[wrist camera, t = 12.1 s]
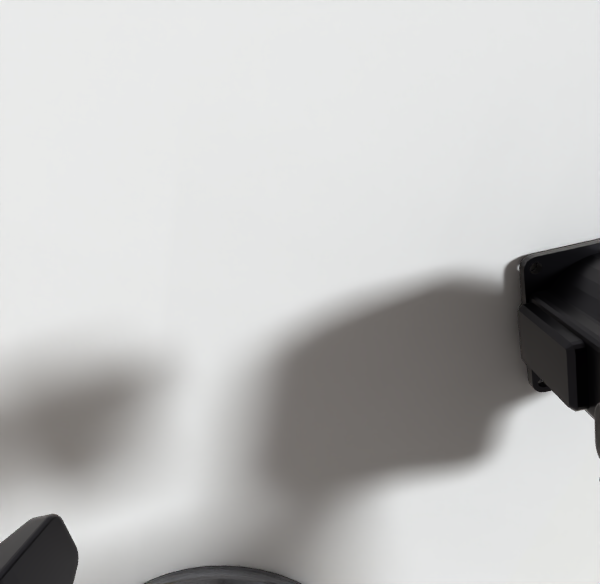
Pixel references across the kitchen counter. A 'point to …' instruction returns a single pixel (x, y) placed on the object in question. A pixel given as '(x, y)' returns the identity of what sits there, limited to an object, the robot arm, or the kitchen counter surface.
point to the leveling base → (222, 576)
